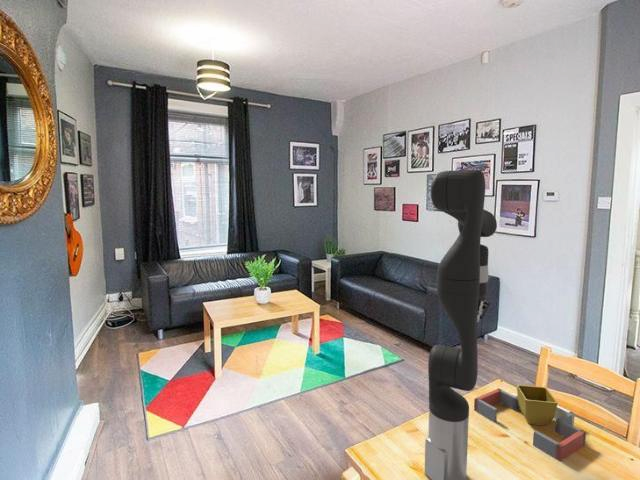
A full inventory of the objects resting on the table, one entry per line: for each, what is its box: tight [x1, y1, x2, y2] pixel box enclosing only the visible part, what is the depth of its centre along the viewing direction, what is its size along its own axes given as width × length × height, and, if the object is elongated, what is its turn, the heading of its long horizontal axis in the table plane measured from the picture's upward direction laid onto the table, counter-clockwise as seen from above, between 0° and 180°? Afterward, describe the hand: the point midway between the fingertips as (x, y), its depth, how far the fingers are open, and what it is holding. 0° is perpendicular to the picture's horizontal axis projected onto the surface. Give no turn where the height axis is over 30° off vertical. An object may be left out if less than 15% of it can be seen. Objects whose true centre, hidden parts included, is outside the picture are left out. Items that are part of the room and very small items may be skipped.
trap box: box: [473, 388, 587, 462], centre depth 111 cm, size 26×19×4 cm
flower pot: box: [516, 384, 559, 426], centre depth 112 cm, size 9×9×9 cm
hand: (472, 333), depth 112 cm, fingers closed
